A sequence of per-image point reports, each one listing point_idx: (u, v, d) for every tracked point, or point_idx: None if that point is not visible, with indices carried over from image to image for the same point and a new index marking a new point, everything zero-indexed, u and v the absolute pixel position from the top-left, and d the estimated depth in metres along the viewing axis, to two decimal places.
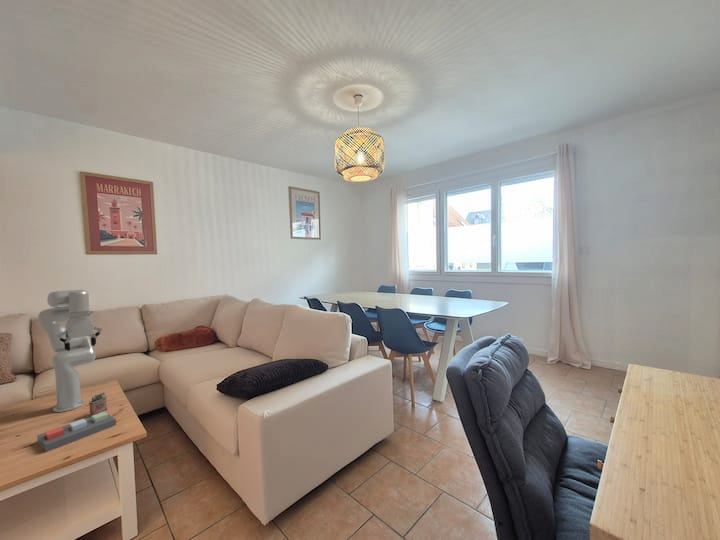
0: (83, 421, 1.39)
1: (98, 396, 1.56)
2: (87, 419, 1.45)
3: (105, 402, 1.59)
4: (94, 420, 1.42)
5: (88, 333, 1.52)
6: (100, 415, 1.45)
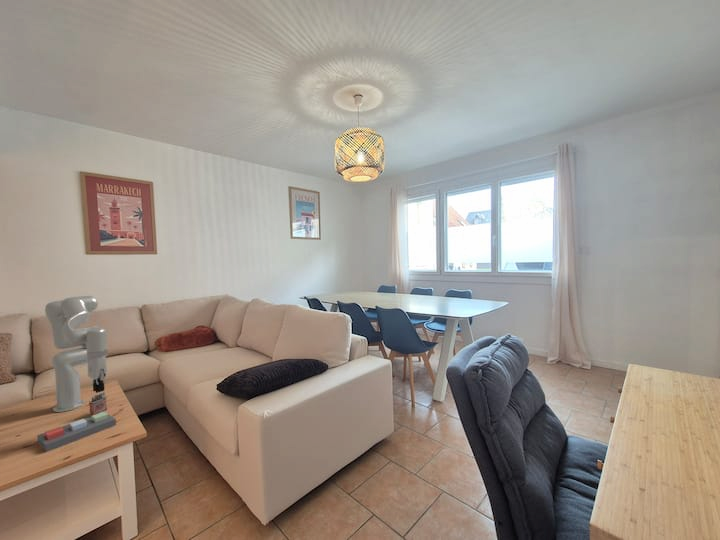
0: (83, 421, 1.39)
1: (98, 396, 1.56)
2: (87, 419, 1.45)
3: (105, 402, 1.59)
4: (94, 420, 1.42)
5: None
6: (100, 415, 1.45)
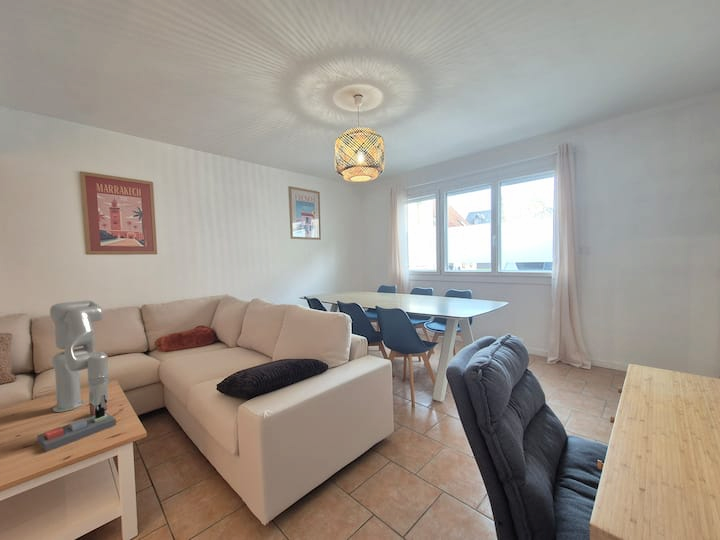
0: (83, 421, 1.39)
1: None
2: (87, 419, 1.45)
3: None
4: (94, 422, 1.42)
5: None
6: None
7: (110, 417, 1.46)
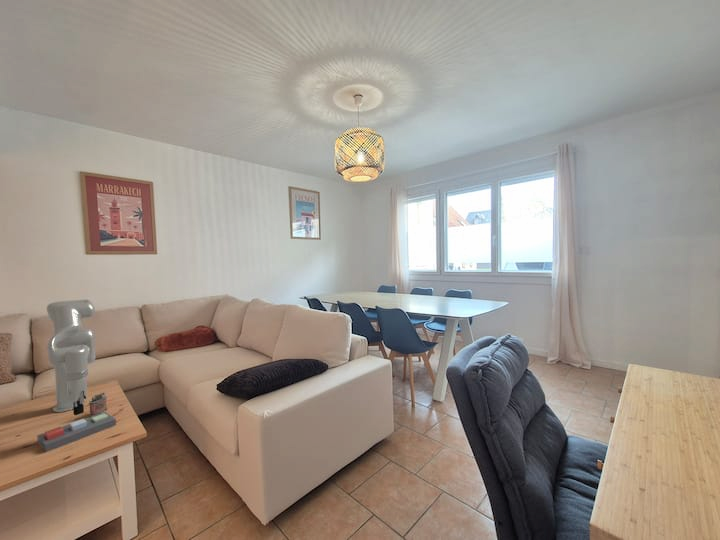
0: (83, 421, 1.39)
1: (98, 396, 1.56)
2: (87, 419, 1.45)
3: (105, 402, 1.59)
4: (94, 422, 1.42)
5: None
6: (100, 417, 1.45)
7: (110, 417, 1.46)
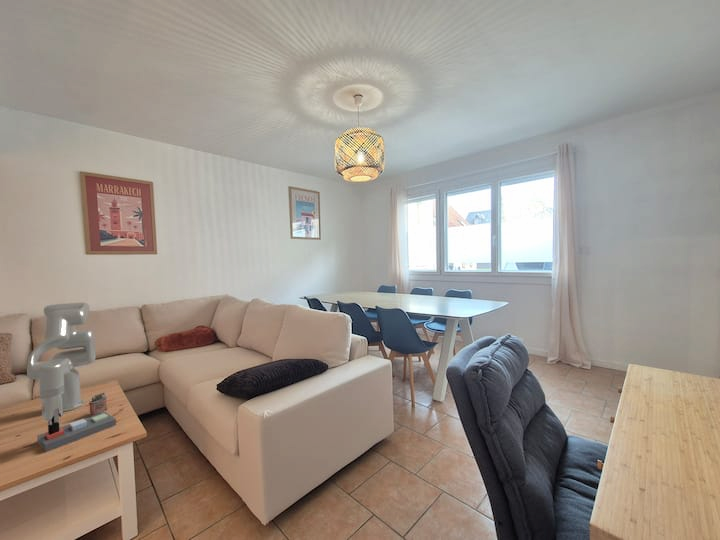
0: (83, 421, 1.39)
1: (98, 396, 1.56)
2: (87, 419, 1.45)
3: (105, 402, 1.59)
4: (94, 422, 1.42)
5: None
6: (100, 417, 1.45)
7: (110, 417, 1.46)
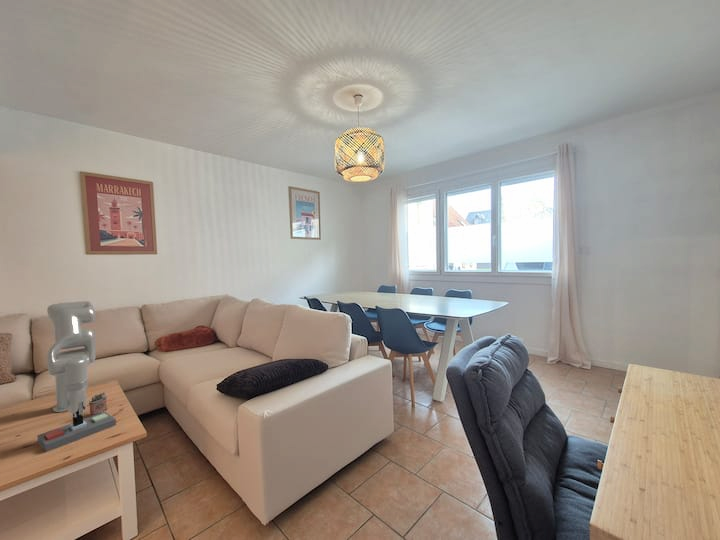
0: (83, 423, 1.39)
1: (98, 396, 1.56)
2: (87, 419, 1.45)
3: (105, 402, 1.59)
4: (94, 422, 1.42)
5: None
6: (100, 417, 1.45)
7: (110, 417, 1.46)
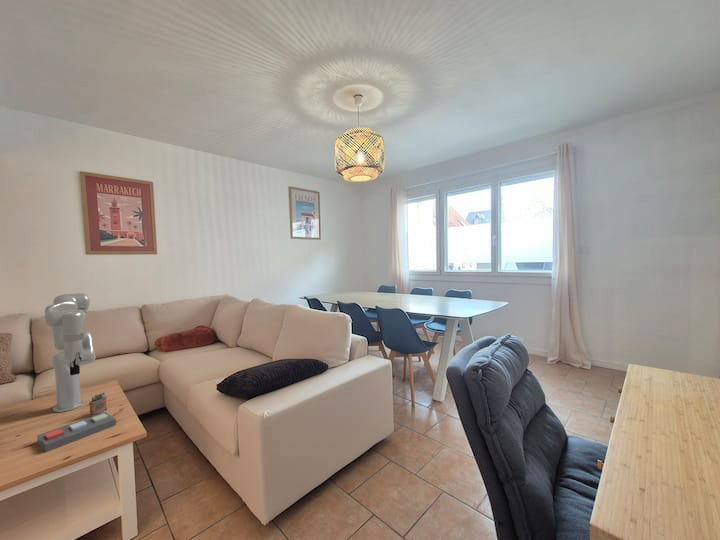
0: (83, 423, 1.39)
1: (98, 396, 1.56)
2: (87, 419, 1.45)
3: (105, 402, 1.59)
4: (94, 422, 1.42)
5: None
6: (100, 417, 1.45)
7: (110, 417, 1.46)
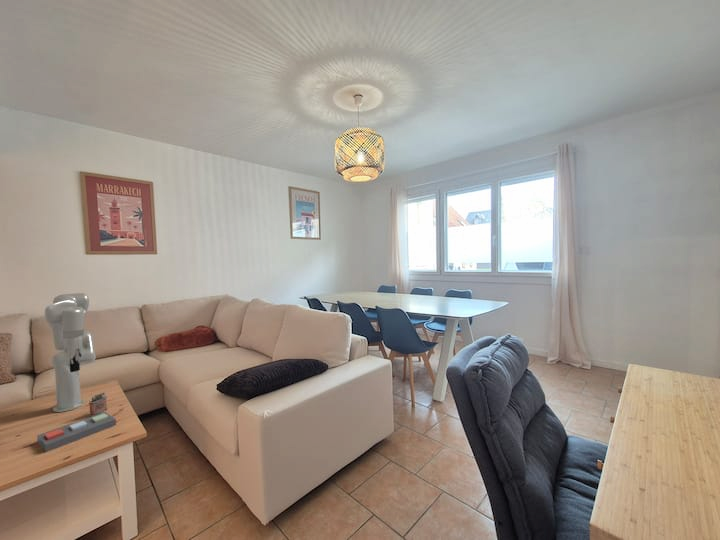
0: (83, 423, 1.39)
1: (98, 396, 1.56)
2: (87, 419, 1.45)
3: (105, 402, 1.59)
4: (94, 422, 1.42)
5: None
6: (100, 417, 1.45)
7: (110, 417, 1.46)
